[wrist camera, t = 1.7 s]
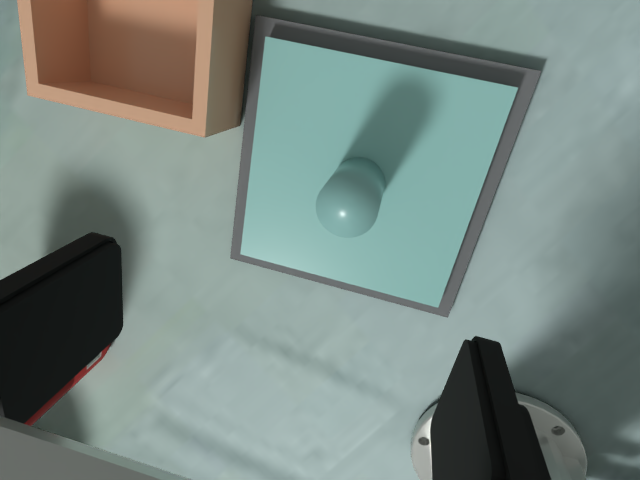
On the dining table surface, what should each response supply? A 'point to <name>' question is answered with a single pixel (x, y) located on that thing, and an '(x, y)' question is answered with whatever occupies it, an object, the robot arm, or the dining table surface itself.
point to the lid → (367, 167)
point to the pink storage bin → (141, 59)
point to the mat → (402, 55)
